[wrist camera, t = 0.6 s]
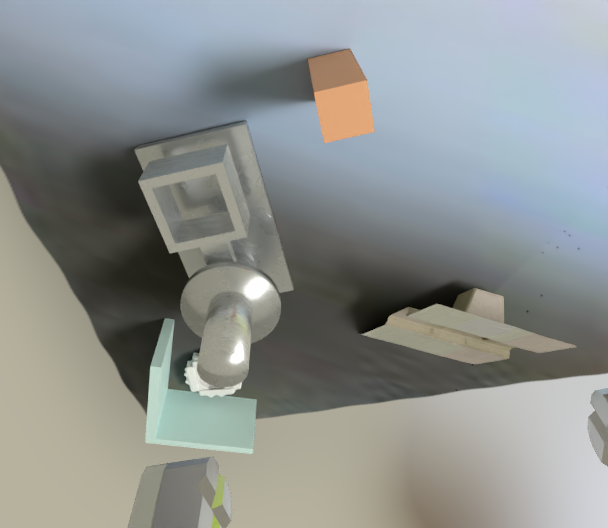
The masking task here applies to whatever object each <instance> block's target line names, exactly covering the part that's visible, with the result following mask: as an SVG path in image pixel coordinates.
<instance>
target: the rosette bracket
mask: <svg viewBox="0 0 608 528" xmlns="http://www.w3.org/2000/svg"><path fill="white" fill-rule="evenodd" d="M135 153H136V155H137V157H138V160H139V162H140V164H141V167H142V169H143V171H144V172H143V173H142V175H141V177H140V179H139V180H138V182H139V185H140V187H141V189H142V191H143V194H144V196H145V198H146V201H147V203H148V205H149V207H150V210H151V212H152V214H153V217H154V219H155V221H156V223H157V226H158V228H159V230H160V232H161V235H162V237H163V239H164V242H165V244H166V246H167V248H168V251H169V253H175V252H178V253H179V256H180V258H181V260H182V263H183V265H184V267H185V270H186V272H187V274H188V277H189V279H188V281H187V282H186V284H185V286H184V289H183V293H182V296H181V302H180V308H181V313H182V316H183V319H184V320H185V322H186V324H187V325H188V326H189V328H190V329H191V330H192V331H193V332H194V333H196V334H197V335H198V336H200V337H201V338H202V342H201V347H200V352H199V358H198V363H197V372H198V375H199V376H200V378H201V379H202V380H203V381H205V382H206V383H208V384H210V385H213V386H216V387H231V386H235V385H237V384H239V383H241V382H242V381H243V380H244V379H245V378H246V377H247V375H248V369H249V356H250V344H251V343H254V342H256V341H259V340H261V339H262V338H264V337H265V336H267V335H268V334H269V333H270V332H271V331H272V330H273V329H274V328H275V326H276V325H277V323H278V321H279V318H280V313H281V297H280V293H281V292H286V291H291V290H294V284H293V280H292V277H291V273H290V270H289V266H288V263H287V259H286V256H285V253H284V249H283V246H282V242H281V239H280V235H279V232H278V228H277V225H276V221H275V218H274V214H273V211H272V207H271V204H270V201H269V197H268V194H267V190H266V187H265V183H264V180H263V176H262V173H261V169H260V166H259V162H258V159H257V155H256V152H255V149H254V145H253V142H252V138H251V135H250V131H249V128H248V124H247V121H242V122H238V123H234V124H229V125H225V126H221V127H216V128H212V129H208V130H203V131H199V132H195V133H191V134H186V135H182V136H178V137H173V138H169V139H165V140H160V141H156V142H152V143H147V144H143V145H139V146H137V147H136V148H135Z"/></svg>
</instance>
